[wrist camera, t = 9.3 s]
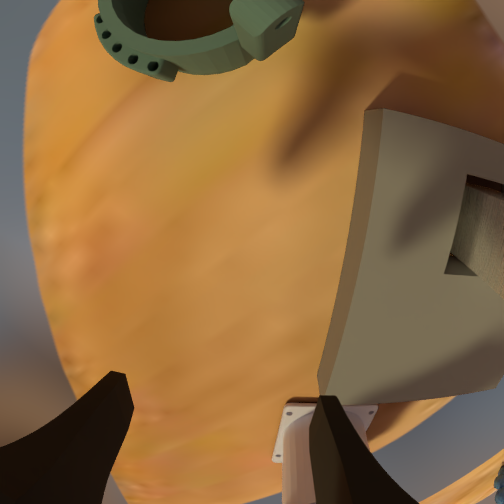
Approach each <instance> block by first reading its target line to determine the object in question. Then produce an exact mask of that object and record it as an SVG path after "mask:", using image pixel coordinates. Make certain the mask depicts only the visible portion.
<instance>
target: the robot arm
mask: <svg viewBox="0 0 504 504" xmlns="http://www.w3.org/2000/svg"><path fill="white" fill-rule="evenodd" d="M377 410H378V404H359V405H341V403H340V401H339V399H338V397H337V396H336V395H319V398H318V402H317V403H287V404H286V405H285V406H284V409H283V413H282V418H281V422H280V426H279V430H278V435H277V439H276V443H275V447H274V451H273V455H272V461H273V462H276V463H282V504H419V503H418V502H417V501H416V500H414V499H413V498H412V497H411V496H410V495H409V494H408V493H406V492H405V491H404V490H403V489H402V488H401V487H400V486H399V485H398V484H397V483H396V482H395V481H394V480H393V479H392V478H391V477H390V476H389V475H388V474H387V472H386V471H385V470H384V469H383V468H382V467H381V465H380V464H379V463H378V461H377V460H376V459H375V458H374V456H373V455H372V453H371V452H370V449H369V445H368V440H367V436H366V431H367V429H368V427H369V425H370V423H371V422H372V420H373V418H374V416H375V414H376V412H377ZM133 411H134V405H133V401H132V398H131V394H130V390H129V386H128V382H127V378H126V374H124V373H119V372H115V371H110V372H109V373H108V374H107V375H106V376H105V377H103V378H102V379H101V380H100V381H99V382H98V383H97V384H96V385H95V386H93V387H92V388H91V389H90V390H89V391H88V392H87V393H86V394H84V395H83V396H82V397H81V398H80V399H79V400H77V401H76V402H75V403H74V404H73V405H72V406H71V407H69V408H68V409H66V410H65V411H64V412H63V413H62V414H60V415H59V416H57V417H56V418H55V419H53V420H52V421H50V422H49V423H47V424H46V425H44V426H43V427H41V428H40V429H38V430H36V431H34V432H33V433H31V434H29V435H27V436H25V437H23V438H21V439H19V440H17V441H15V442H13V443H10V444H8V445H6V446H3V447H0V504H101V503H102V499H103V495H104V491H105V487H106V483H107V480H108V477H109V474H110V471H111V469H112V467H113V464H114V462H115V460H116V457H117V455H118V453H119V450H120V448H121V446H122V443H123V441H124V438H125V436H126V434H127V431H128V429H129V425H130V422H131V418H132V414H133Z"/></svg>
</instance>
